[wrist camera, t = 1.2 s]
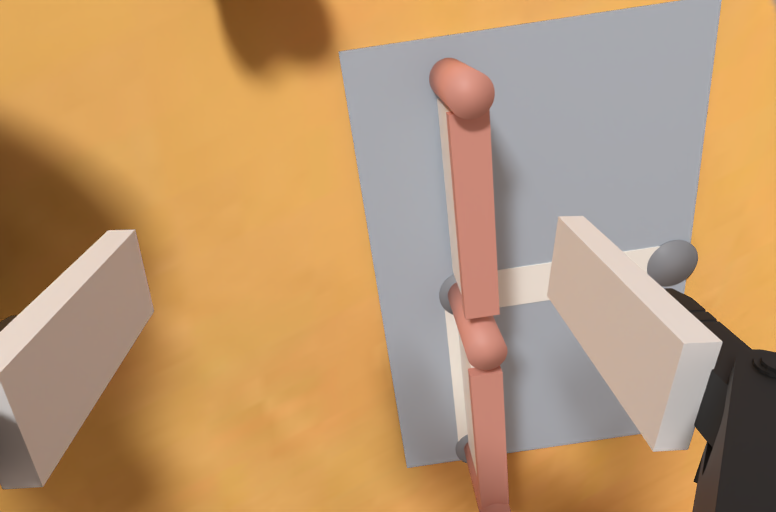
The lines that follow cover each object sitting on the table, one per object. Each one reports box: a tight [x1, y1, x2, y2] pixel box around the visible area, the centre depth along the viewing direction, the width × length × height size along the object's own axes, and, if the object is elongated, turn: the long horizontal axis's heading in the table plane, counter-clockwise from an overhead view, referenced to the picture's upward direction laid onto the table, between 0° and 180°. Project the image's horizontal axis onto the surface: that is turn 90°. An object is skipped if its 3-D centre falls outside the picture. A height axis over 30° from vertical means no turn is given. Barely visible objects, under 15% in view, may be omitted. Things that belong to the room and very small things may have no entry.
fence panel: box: [429, 58, 500, 319], centre depth 30 cm, size 14×2×7 cm, turn 8°
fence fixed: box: [448, 282, 511, 512], centre depth 37 cm, size 2×17×8 cm, turn 8°
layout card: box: [339, 0, 721, 468], centre depth 37 cm, size 23×34×1 cm
